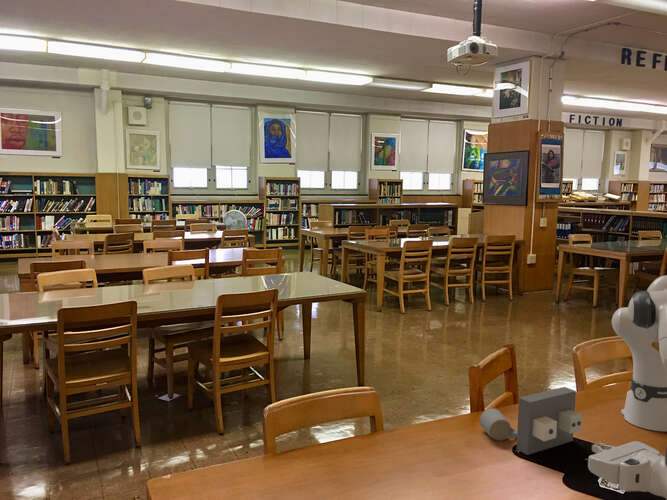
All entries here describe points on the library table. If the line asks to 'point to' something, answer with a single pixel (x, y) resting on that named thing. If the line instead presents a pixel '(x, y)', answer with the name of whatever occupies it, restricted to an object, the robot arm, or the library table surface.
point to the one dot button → (544, 428)
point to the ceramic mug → (496, 425)
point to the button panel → (543, 406)
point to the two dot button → (569, 421)
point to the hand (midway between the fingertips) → (595, 446)
